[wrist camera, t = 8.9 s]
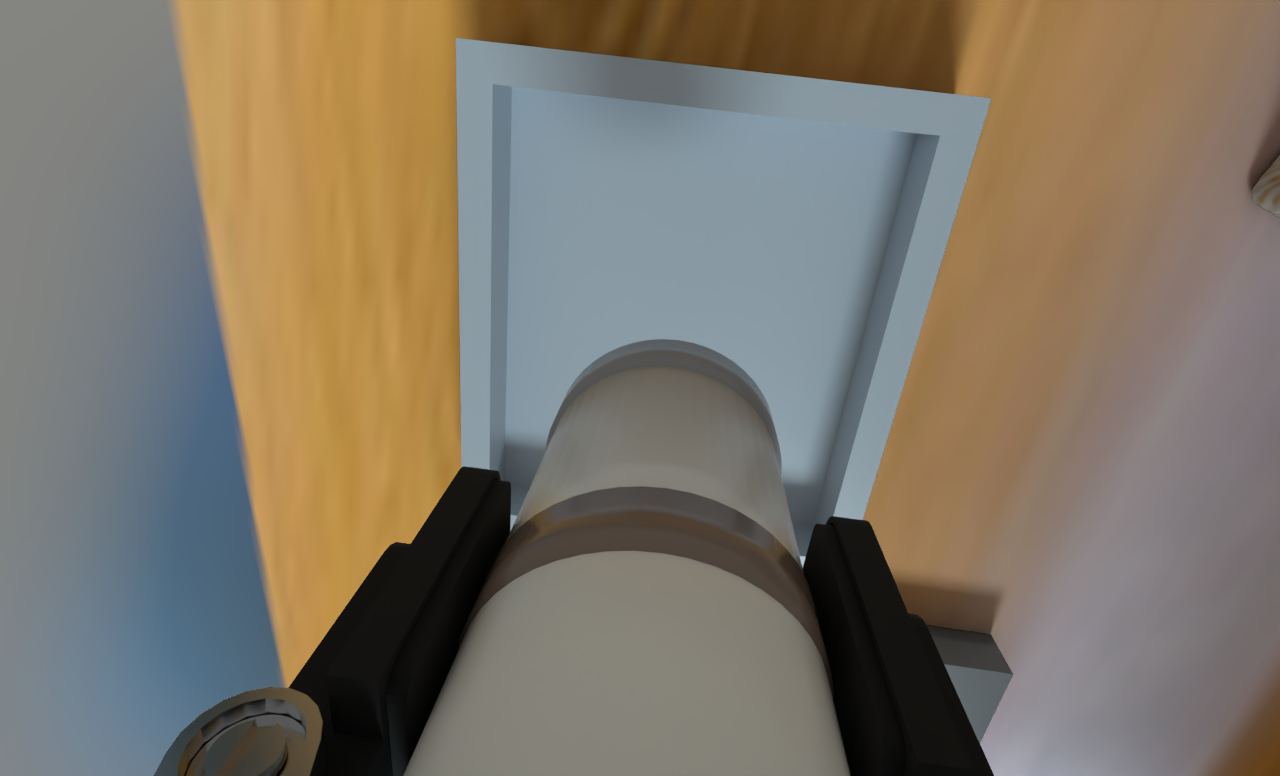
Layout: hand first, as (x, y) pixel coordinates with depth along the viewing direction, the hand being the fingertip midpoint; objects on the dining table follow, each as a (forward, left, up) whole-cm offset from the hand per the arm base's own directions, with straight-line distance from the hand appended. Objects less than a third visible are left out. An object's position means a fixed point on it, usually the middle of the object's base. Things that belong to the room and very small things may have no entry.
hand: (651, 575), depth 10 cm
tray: (0, 0, -13) cm, 13 cm away
